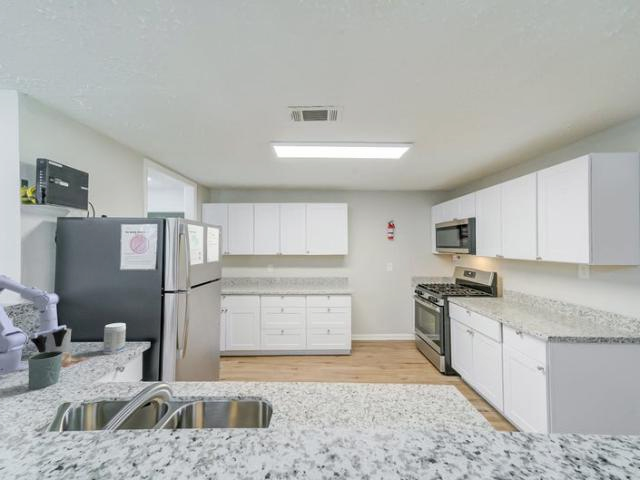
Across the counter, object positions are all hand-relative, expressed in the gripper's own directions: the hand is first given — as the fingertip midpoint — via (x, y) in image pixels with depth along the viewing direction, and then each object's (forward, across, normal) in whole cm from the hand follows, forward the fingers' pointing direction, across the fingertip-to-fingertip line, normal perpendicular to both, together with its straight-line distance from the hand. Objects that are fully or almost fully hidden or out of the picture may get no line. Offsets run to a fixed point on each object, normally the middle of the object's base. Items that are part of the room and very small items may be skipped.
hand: (50, 349), depth 126 cm
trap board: (+9, +9, 0) cm, 13 cm away
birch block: (+9, +5, +1) cm, 10 cm away
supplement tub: (+11, +24, -10) cm, 28 cm away
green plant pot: (+11, -15, -11) cm, 21 cm away
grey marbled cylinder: (+7, +18, +15) cm, 24 cm away
